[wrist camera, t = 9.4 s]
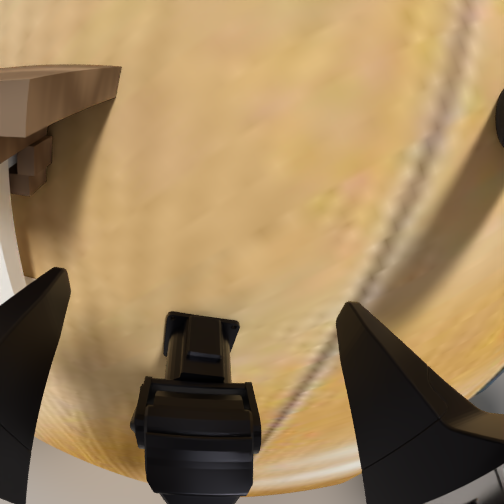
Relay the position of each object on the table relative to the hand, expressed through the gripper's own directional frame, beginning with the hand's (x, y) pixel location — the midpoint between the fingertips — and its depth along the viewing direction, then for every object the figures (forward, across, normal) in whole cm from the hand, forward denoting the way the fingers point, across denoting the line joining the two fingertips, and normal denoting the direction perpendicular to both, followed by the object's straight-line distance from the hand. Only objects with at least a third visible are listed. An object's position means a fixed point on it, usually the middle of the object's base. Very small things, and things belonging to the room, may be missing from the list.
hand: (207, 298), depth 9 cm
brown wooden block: (+12, +15, -2) cm, 19 cm away
